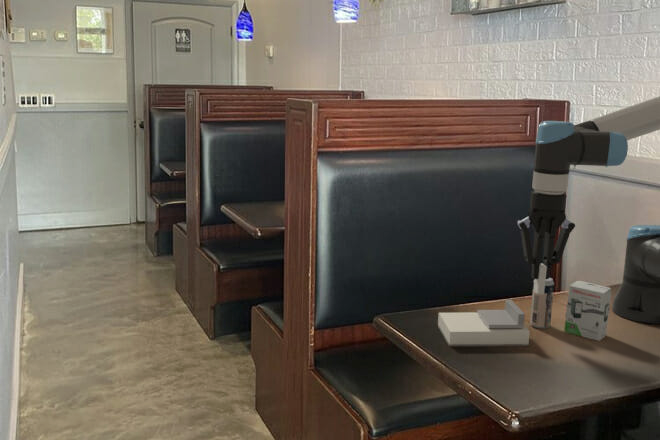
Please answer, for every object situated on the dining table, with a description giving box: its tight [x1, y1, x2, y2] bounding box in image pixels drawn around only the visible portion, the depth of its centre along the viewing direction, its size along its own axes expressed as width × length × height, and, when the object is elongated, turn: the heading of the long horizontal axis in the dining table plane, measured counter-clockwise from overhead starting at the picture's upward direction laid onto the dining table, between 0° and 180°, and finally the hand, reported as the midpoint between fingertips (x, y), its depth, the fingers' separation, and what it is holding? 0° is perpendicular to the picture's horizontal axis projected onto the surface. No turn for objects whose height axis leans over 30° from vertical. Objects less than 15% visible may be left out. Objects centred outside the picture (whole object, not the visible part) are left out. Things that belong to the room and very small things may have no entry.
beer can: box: [529, 277, 555, 329], centre depth 165 cm, size 5×5×12 cm
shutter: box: [477, 299, 526, 328], centre depth 159 cm, size 8×10×3 cm
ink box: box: [563, 280, 613, 342], centre depth 161 cm, size 9×5×12 cm, turn 50°
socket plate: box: [437, 311, 531, 347], centre depth 160 cm, size 18×12×4 cm, turn 93°
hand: (538, 292), depth 158 cm, fingers closed
